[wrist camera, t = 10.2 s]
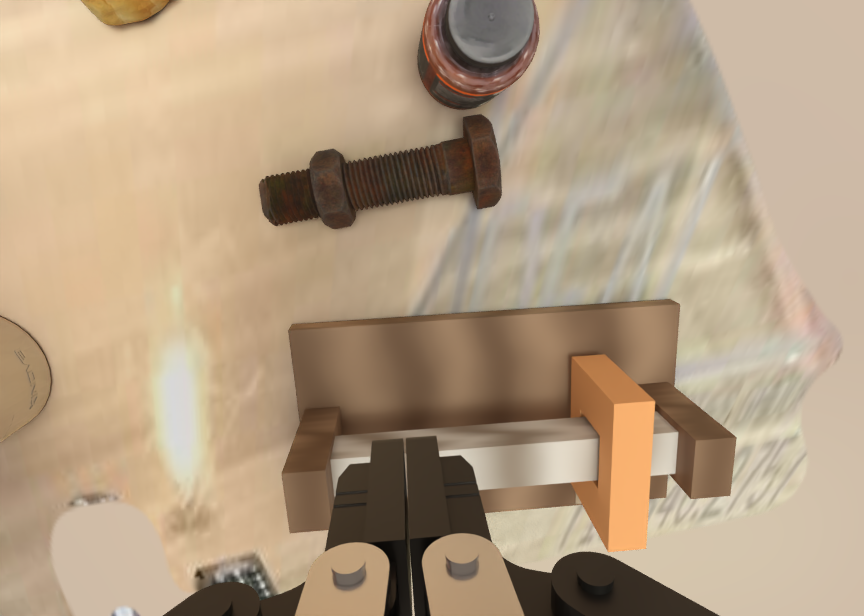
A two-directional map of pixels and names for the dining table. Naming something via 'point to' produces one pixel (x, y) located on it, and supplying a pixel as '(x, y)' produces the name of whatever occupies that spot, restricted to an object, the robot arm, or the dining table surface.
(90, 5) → the pastry
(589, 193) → the dining table surface
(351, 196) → the bolt
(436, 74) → the supplement bottle
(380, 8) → the dining table surface
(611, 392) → the collar
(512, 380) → the pipe stand
